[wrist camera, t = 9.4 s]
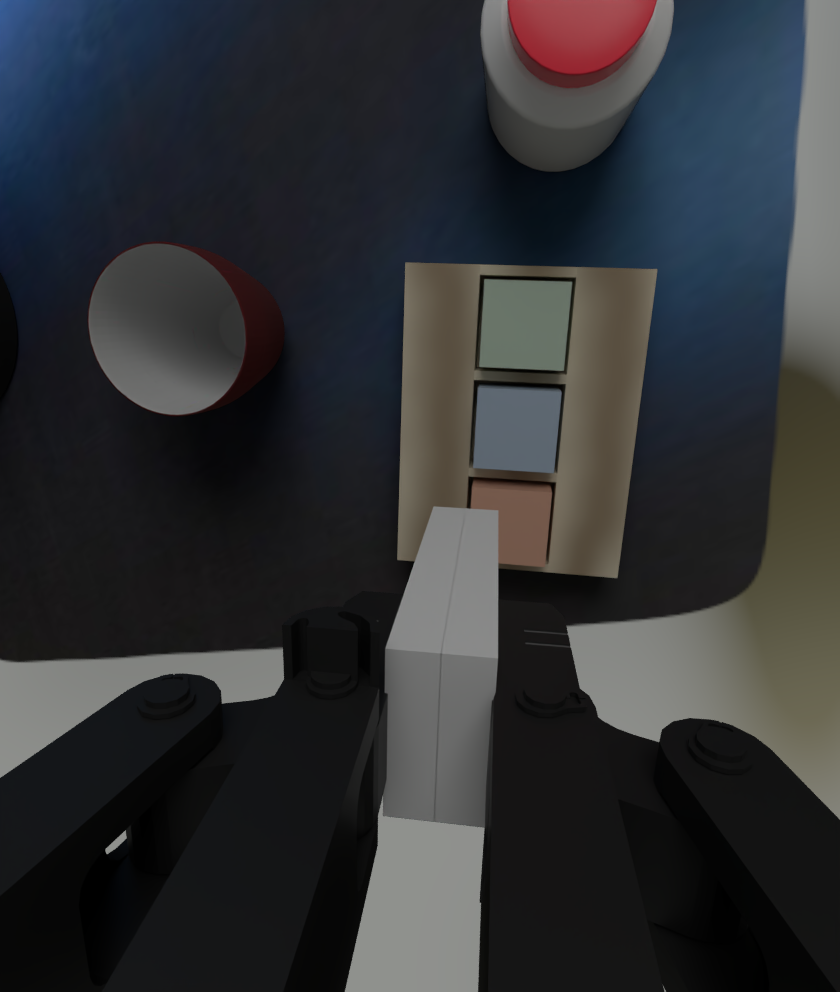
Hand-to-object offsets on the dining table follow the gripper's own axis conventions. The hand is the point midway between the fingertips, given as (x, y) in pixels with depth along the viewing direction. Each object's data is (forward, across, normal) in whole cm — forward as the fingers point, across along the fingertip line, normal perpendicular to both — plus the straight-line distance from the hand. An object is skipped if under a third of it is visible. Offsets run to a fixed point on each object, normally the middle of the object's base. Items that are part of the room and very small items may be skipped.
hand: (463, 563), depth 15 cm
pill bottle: (+25, +3, +17) cm, 31 cm away
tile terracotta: (+23, +2, -6) cm, 24 cm away
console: (+25, +2, 0) cm, 25 cm away
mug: (+26, -16, +4) cm, 30 cm away
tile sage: (+23, +2, +5) cm, 24 cm away
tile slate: (+23, +2, 0) cm, 23 cm away
